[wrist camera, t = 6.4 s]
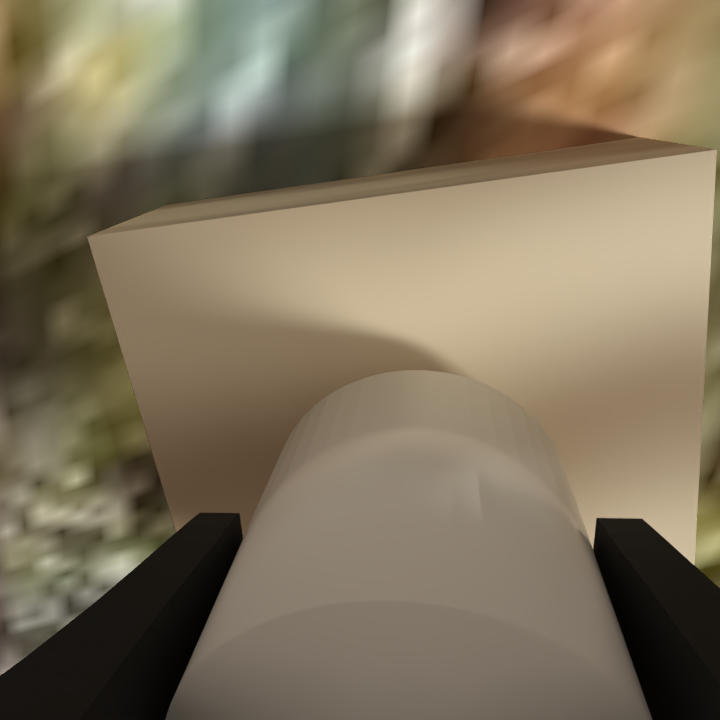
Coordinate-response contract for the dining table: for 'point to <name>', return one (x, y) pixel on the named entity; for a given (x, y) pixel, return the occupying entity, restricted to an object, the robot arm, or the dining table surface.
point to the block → (432, 315)
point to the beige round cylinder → (414, 573)
